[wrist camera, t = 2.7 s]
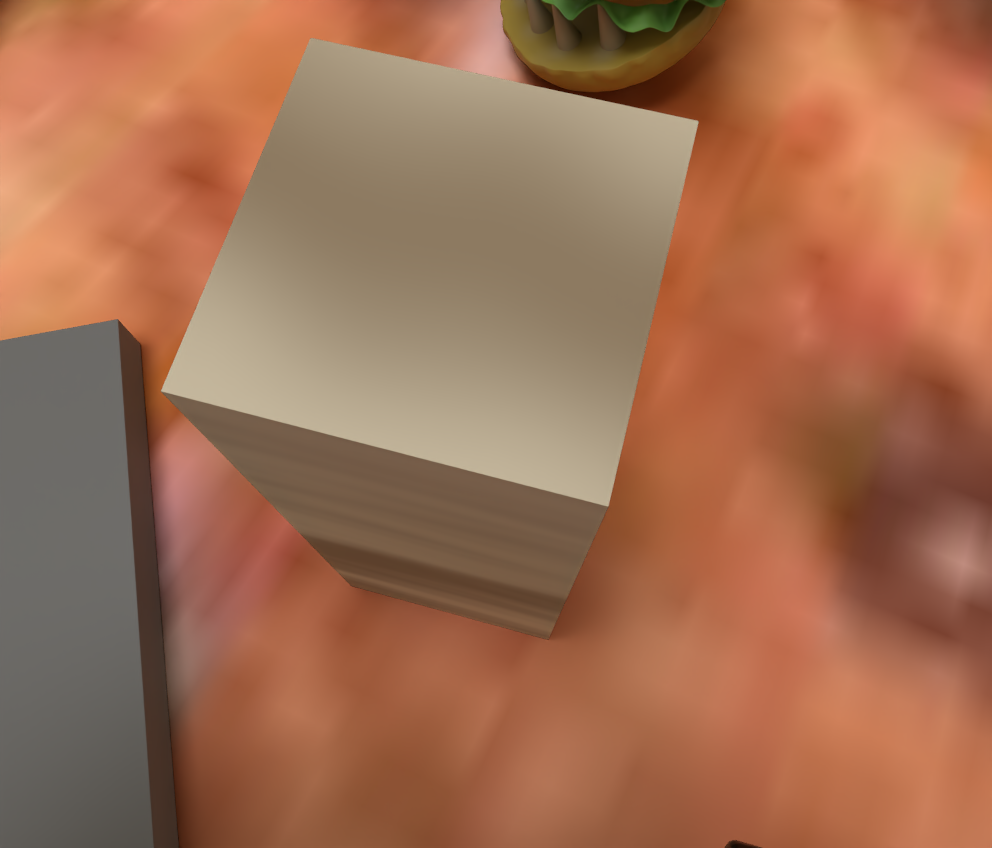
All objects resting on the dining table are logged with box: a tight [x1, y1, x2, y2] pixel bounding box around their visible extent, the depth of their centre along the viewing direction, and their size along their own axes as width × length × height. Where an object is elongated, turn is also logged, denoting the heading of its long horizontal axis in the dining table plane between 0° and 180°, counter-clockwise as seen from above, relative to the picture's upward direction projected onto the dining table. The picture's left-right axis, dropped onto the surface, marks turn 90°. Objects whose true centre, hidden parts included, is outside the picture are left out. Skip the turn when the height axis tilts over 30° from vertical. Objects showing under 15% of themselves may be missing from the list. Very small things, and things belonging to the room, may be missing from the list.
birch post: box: [161, 38, 699, 640], centre depth 16 cm, size 5×5×13 cm
